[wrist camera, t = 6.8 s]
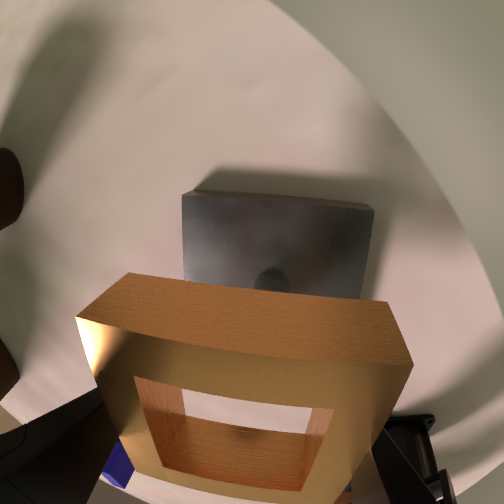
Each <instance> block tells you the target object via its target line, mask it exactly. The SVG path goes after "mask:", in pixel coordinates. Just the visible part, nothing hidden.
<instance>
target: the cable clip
mask: <svg viewBox="0 0 504 504" xmlns="http://www.w3.org/2000/svg"><path fill="white" fill-rule="evenodd" d="M134 470H135V468H134V466H133V464H132V462H131V460H130V459H129V457H128V455H127V453H126V451H125V449H124V447H123V445H122V443H121V440H120V438H118V441H117V443H116V445H115V447H114V449H113V451H112V453H111V455H110V457H109V459H108V461H107V463H106V465H105V467H104V469H103V471H102V473H101V474H102V475H103V476H104V477H105V478H106V479H107V480H108V481H109V482H111V483H112V484H113V485H114V486H117V487H120V488H123V489H125V488H126V486H127V484H128V482H129V480H130V478H131V476H132V474H133V472H134Z"/></svg>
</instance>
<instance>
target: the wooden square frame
mask: <svg viewBox="0 0 504 504" xmlns="http://www.w3.org/2000/svg"><path fill="white" fill-rule="evenodd" d="M76 321H77V324H78V328H79V331H80V335H81V338H82V342H83V345H84V348H85V352H86V355H87V358H88V361H89V364H90V367H91V370H92V373H93V375H94V378H95V381H96V384H97V386H98V389H99V392H100V394H101V397H102V399H103V402H104V403H105V405H106V407H107V410H108V412H109V414H110V417H111V419H112V421H113V424H114V426H115V428H116V430H117V432H118V435H119V438H120V440H121V443H122V445H123V447H124V449H125V451H126V453H127V455H128V457H129V459H130V460H131V462H132V464H133V466H134V468H135V470H136V472H139V473H142V474H145V475H148V476H151V477H154V478H157V479H160V480H163V481H166V482H170V483H173V484H176V485H180V486H184V487H187V488H191V489H195V490H200V491H204V492H208V493H213V494H218V495H223V496H228V497H233V498H239V499H246V500H252V501H260V502H268V503H278V504H333V503H334V502H335V501H336V499H337V498H338V497H339V495H340V494H341V493H342V491H343V490H344V488H345V487H346V486H347V484H348V483H349V481H350V480H351V479H352V475H353V474H354V472H355V471H356V469H357V468H358V466H359V465H360V463H361V462H362V460H363V458H364V457H365V455H366V454H367V452H368V450H369V449H370V448H371V447H372V446H373V444H374V443H375V441H376V439H377V437H378V436H379V434H380V432H381V430H382V429H383V427H384V425H385V423H386V421H387V420H388V418H389V416H390V414H391V412H392V410H393V408H394V406H395V404H396V402H397V400H398V398H399V396H400V394H401V392H402V390H403V388H404V386H405V384H406V382H407V379H408V377H409V375H410V373H411V370H412V368H413V366H414V364H413V361H412V359H411V356H410V354H409V351H408V349H407V346H406V344H405V341H404V339H403V336H402V334H401V332H400V329H399V327H398V325H397V322H396V320H395V318H394V316H393V313H392V311H391V309H390V307H389V305H388V302H383V301H370V300H358V299H346V298H335V297H324V296H313V295H303V294H293V293H284V292H274V291H265V290H256V289H247V288H239V287H231V286H223V285H215V284H207V283H199V282H191V281H184V280H177V279H169V278H162V277H155V276H149V275H142V274H135V273H129V272H128V273H127V274H126V275H125V276H123V277H122V278H121V279H120V280H118V281H117V282H116V283H115V284H114V285H112V286H111V287H110V288H109V289H107V290H106V291H105V292H104V293H103V294H101V295H100V296H99V297H98V298H97V299H95V300H94V301H93V302H92V303H91V304H90V305H88V306H87V307H86V308H85V309H84V310H83V311H81V312H80V313H79V314H78V315H77V316H76ZM181 388H183V389H188V390H192V391H197V392H202V393H207V394H212V395H217V396H223V397H229V398H234V399H241V400H247V401H254V402H261V403H269V404H278V405H287V406H297V407H309V408H313V409H312V412H311V416H310V419H309V423H308V426H307V429H306V433H305V434H299V433H288V432H279V431H270V430H262V429H255V428H248V427H241V426H235V425H230V424H224V423H219V422H214V421H209V420H204V419H199V418H195V417H190V416H186V414H185V408H184V402H183V396H182V389H181Z"/></svg>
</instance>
